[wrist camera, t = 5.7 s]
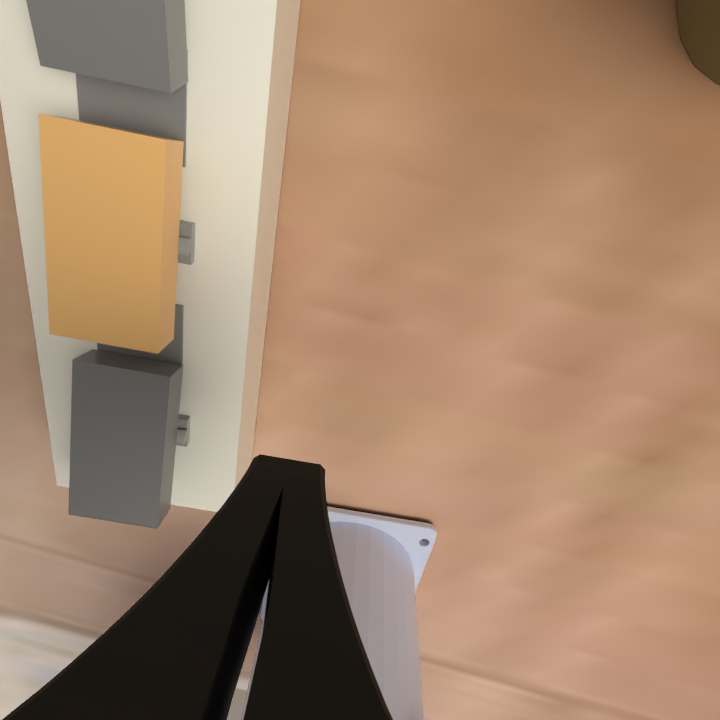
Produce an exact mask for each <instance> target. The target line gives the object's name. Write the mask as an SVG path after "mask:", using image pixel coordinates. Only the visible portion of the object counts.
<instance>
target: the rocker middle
mask: <svg viewBox="0 0 720 720" xmlns="http://www.w3.org/2000/svg"><path fill="white" fill-rule="evenodd" d="M39 134H40V154H41V174H42V194H43V214H44V234H45V253H46V273H47V293H48V313H49V333H50V334H51V335H57V336H62V337H68V338H73V339H79V340H85V341H90V342H96V343H101V344H107V345H112V346H118V347H123V348H129V349H134V350H140V351H145V352H151V353H156V354H158V353H159V352H160V351H162V350H163V349H164V348H165V347H166V346H167V345H168V344H169V343H170V342H171V341H172V340H173V339H174V323H175V303H176V284H177V264H178V245H179V226H180V206H181V187H182V168H183V148H184V141H179V140H174V139H169V138H164V137H159V136H155V135H150V134H145V133H140V132H135V131H130V130H125V129H121V128H116V127H111V126H106V125H101V124H96V123H91V122H86V121H82V120H77V119H72V118H67V117H60V116H52V115H45V114H39Z"/></svg>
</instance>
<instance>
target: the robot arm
mask: <svg viewBox="0 0 720 720" xmlns="http://www.w3.org/2000/svg"><path fill="white" fill-rule="evenodd" d="M436 537H437V532H436V528H435V526H434V525H432V524H429V523H424V522H418V521H412V520H406V519H400V518H394V517H388V516H382V515H376V514H370V513H364V512H358V511H352V510H346V509H340V508H334V507H328V506H327V502H326V492H325V469H324V468H323V467H322V466H321V465H319V464H313V463H308V462H302V461H296V460H290V459H284V458H278V457H272V456H266V455H259V456H257V457H255V458H254V459H253V461H252V463H251V465H250V466H249V468H248V470H247V471H246V473H245V474H244V476H243V477H242V479H241V481H240V482H239V483H238V485H237V486H236V488H235V489H234V491H233V492H232V493H231V495H230V496H229V497H228V499H227V500H226V502H225V503H224V504H223V506H222V507H221V508H220V509H219V511H218V512H217V513H216V514H215V516H214V517H213V518H212V519H211V521H210V522H209V523H208V524H207V526H206V527H205V528H204V529H203V531H202V532H201V533H200V534H199V535H198V537H197V538H196V539H195V540H194V541H193V542H192V544H191V545H190V546H189V547H188V548H187V549H186V550H185V551H184V552H183V554H182V555H181V556H180V557H179V558H178V559H177V560H176V561H175V562H174V564H173V565H172V566H171V567H170V568H169V569H168V570H167V571H166V572H165V574H164V575H163V576H162V577H161V578H160V579H159V580H158V581H157V582H156V583H155V584H154V585H153V586H152V587H151V588H150V589H149V590H148V591H147V592H146V593H145V594H144V595H143V596H142V597H141V598H140V599H139V600H138V601H137V602H136V603H135V604H134V605H133V606H132V607H131V608H130V609H129V610H128V611H127V612H126V613H125V614H124V615H123V616H122V617H121V618H120V619H119V620H118V621H117V622H116V623H115V624H114V625H112V626H111V627H110V628H109V629H108V630H107V631H106V632H105V633H104V634H103V635H102V636H100V637H99V638H98V639H97V640H96V641H95V642H94V643H93V644H92V645H90V646H89V647H88V648H87V649H86V650H85V651H84V652H83V653H82V654H80V655H79V656H78V657H77V658H76V659H75V660H74V661H73V662H72V663H70V664H69V665H68V666H67V667H66V668H65V669H63V670H62V671H61V672H60V673H59V674H58V675H56V676H55V677H54V678H53V679H52V680H51V681H49V682H48V683H47V684H46V685H45V686H43V687H42V688H41V689H40V690H39V691H37V692H36V693H35V694H34V695H32V696H31V697H30V698H29V699H27V700H26V701H25V702H24V703H22V704H21V705H20V706H19V707H17V708H16V709H15V710H14V711H12V712H11V713H10V714H9V715H7V716H6V717H5V718H4V719H2V720H226V719H227V716H228V712H229V709H230V705H231V701H232V698H233V694H234V691H235V688H236V685H237V681H238V678H239V675H240V672H241V669H242V665H243V662H244V659H245V656H246V653H247V649H248V646H249V643H250V640H251V636H252V633H253V630H254V627H255V624H256V620H257V617H258V614H259V611H260V607H261V604H262V609H261V616H260V618H261V620H262V621H263V622H262V627H261V631H260V636H259V640H258V645H257V649H256V654H255V658H254V663H253V667H252V672H251V676H250V681H249V685H248V690H247V694H246V699H245V703H244V708H243V713H242V716H241V720H424V714H423V699H422V685H421V670H420V655H419V640H418V626H417V611H416V596H415V592H416V590H417V587H418V584H419V582H420V579H421V576H422V574H423V571H424V568H425V566H426V563H427V560H428V558H429V555H430V553H431V550H432V547H433V545H434V542H435V539H436ZM422 539H426V540H422ZM262 601H263V602H262Z"/></svg>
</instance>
